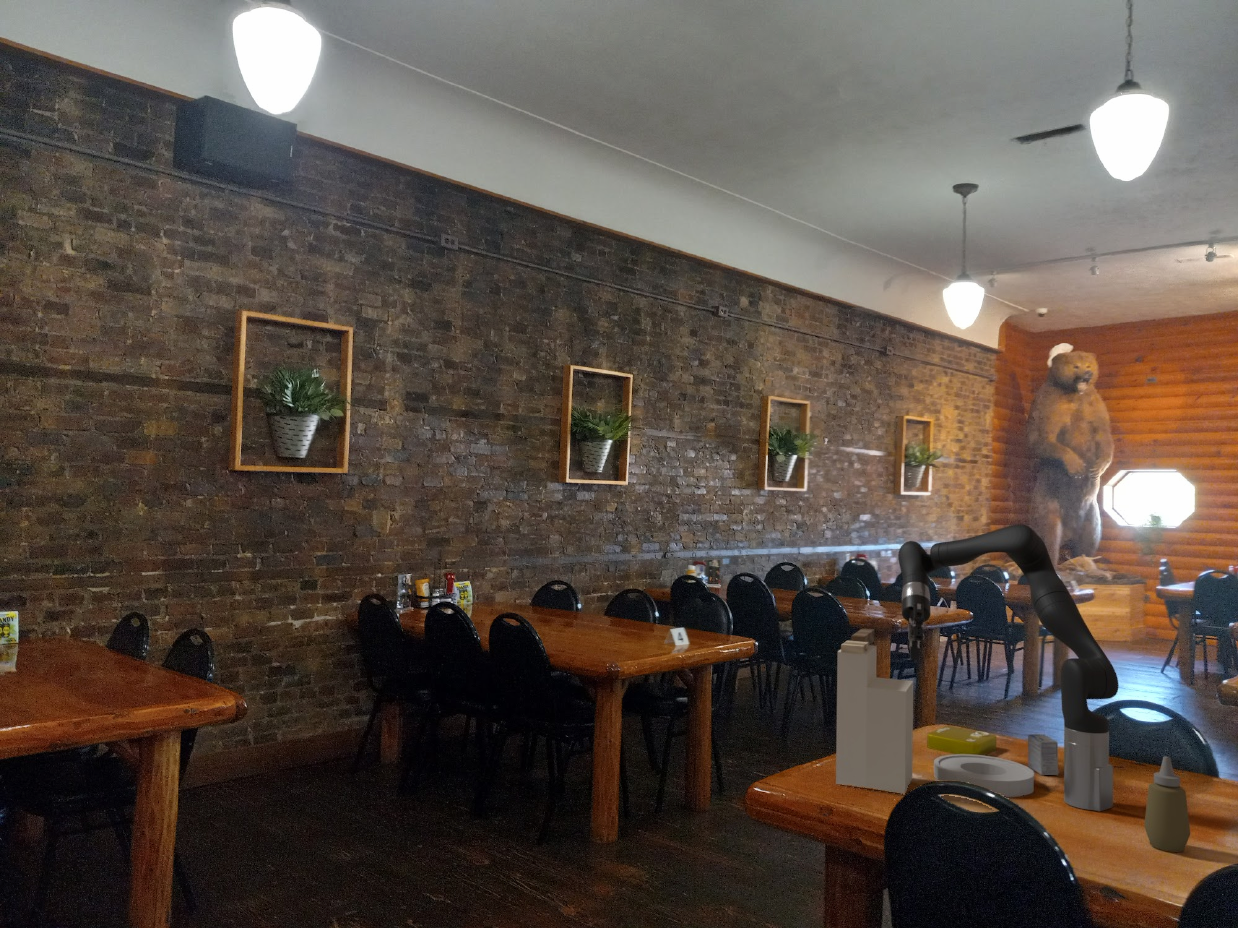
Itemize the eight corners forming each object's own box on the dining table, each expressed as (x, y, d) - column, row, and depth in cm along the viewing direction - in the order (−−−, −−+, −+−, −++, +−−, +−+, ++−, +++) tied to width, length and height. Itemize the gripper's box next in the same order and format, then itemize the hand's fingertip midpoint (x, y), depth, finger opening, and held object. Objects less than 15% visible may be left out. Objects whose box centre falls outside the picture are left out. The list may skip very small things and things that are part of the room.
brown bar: (858, 639, 244) (858, 628, 244) (878, 641, 242) (878, 629, 242) (841, 652, 222) (841, 639, 222) (862, 653, 220) (863, 641, 220)
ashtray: (983, 766, 242) (983, 750, 242) (1056, 792, 221) (1056, 775, 221) (913, 774, 233) (913, 758, 233) (982, 802, 212) (982, 784, 212)
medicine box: (1058, 776, 233) (1058, 741, 234) (1040, 775, 233) (1040, 741, 234) (1044, 767, 241) (1044, 734, 241) (1027, 766, 241) (1027, 733, 242)
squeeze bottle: (1174, 840, 189) (1173, 751, 190) (1200, 855, 181) (1199, 762, 182) (1135, 839, 189) (1135, 751, 190) (1159, 854, 181) (1159, 762, 181)
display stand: (847, 768, 235) (848, 643, 237) (912, 777, 229) (913, 648, 230) (836, 784, 222) (837, 651, 223) (904, 794, 215) (906, 657, 216)
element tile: (947, 739, 269) (947, 723, 269) (998, 750, 259) (998, 733, 259) (924, 749, 258) (924, 731, 259) (977, 760, 248) (977, 742, 248)
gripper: (933, 586, 249) (934, 634, 237) (927, 619, 258) (928, 667, 247) (904, 584, 250) (904, 631, 239) (899, 616, 260) (899, 663, 248)
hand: (916, 649), depth 243 cm, fingers open, 8 cm apart
